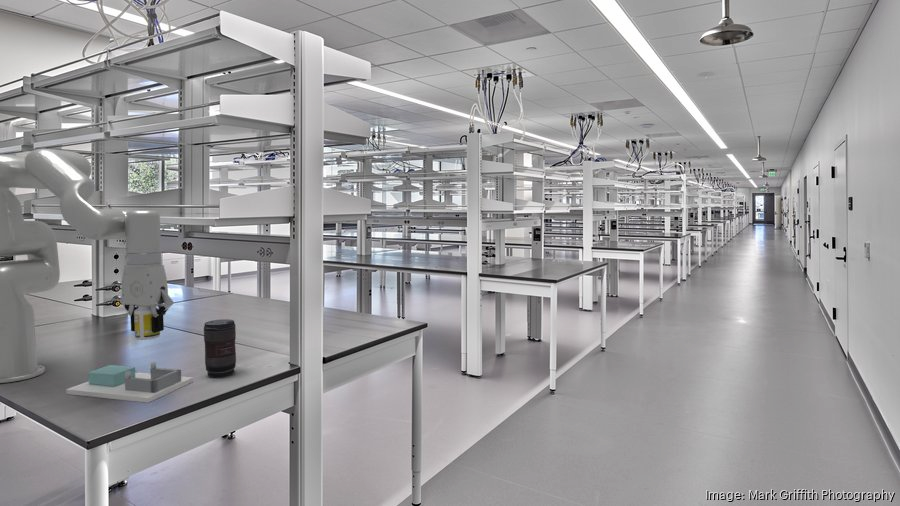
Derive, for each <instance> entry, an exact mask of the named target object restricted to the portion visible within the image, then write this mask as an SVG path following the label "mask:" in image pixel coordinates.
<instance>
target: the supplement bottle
mask: <svg viewBox="0 0 900 506" xmlns="http://www.w3.org/2000/svg"><path fill="white" fill-rule="evenodd" d="M158 309H159V308H158V307H157V310H158ZM152 317H154V316H153V313H152V310H151V307H150V306H138V309H136V310H135V311H134V323H135V331H134V337H135V339H136V340H137V341H148V340H155V339H158V338H159V337H161V331H159V332H156V333H153V332H152V323H151V318H152Z"/></svg>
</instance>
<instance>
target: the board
mask: <svg viewBox="0 0 900 506" xmlns="http://www.w3.org/2000/svg"><path fill="white" fill-rule="evenodd" d="M149 369H150V370H149V371H150V373H146V372H138V371H137V372H136V371H135V378H133V377H131V371H127V372H125V383H122V384H120V385H117V386H106V385H96V384H89V381H85V382H83V383H80V384H77V385H74V386H72V387H68V388H67V389H65V392H66V393H65V394H66V395H72V396H83V397H92V398H101V399H102V398H103V399H109V400H110V399H111V400H121V401H131V402H139V403H147V404H148V403H151V402H153V401H155V400H157V399H159V398H161V397H163V396H166V395H168V394H170V393H172V392H175V391H176V390H179V389H181V388H182V387H185V386H187V385H190V384H192V383H193V382H194V377H192V376H191V377H190V376H182V369H179V368H178V369H176V368H166V367H165V368H163V367H157V362H156V361H152V362H150V368H149Z"/></svg>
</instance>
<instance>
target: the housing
mask: <svg viewBox="0 0 900 506" xmlns="http://www.w3.org/2000/svg"><path fill="white" fill-rule="evenodd" d="M127 371H131V377H133V378H135V372H136V367H135V366H127V365H125V366H124V365H117V364H116V365H115V364H108V365H106V366H102V367H100V368H98V369H94V370H90V371H89V372H87V375H88V377H87V378H88V381H89V384H96V385H106V386H117V385H120V384H122V383H125V372H127ZM88 381H87V382H88Z"/></svg>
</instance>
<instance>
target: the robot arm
mask: <svg viewBox="0 0 900 506" xmlns="http://www.w3.org/2000/svg"><path fill="white" fill-rule="evenodd" d="M91 175H92V166H91V163H90V161H89V160H88V159H87V157H85V155H83V154H81V153H79V152H76V151H70V150H62V149H53V148H37V149H34V150H31V151H29V152H28V153H27V154H26V155H25V156H22V155H15V154H14V155H13V154H3V153H2V154H0V257H13V256H27V259H17V260H9V261H0V384H3V383H4V384H5V383H13V382H19V381H24V380H28V379H31V378H35V377H39V376H40V375H42V374H44V373H45V371H46V368H45V366H43V365H40V364H38V353H37V340H36V339H37V338H36V337H37V335H36V322H35V321H36V320H35V319H36V318H35V310H34V308H33V306H32V304H31V303H30V301H28V299H27V298H26V297H25V295H29V294H36V293H43V292H48V291H52V290H53V289H54V288H55V287H57V285H58V283H59V281H60V276H61V275H60V274H61V273H60V270H61V269H60V262H59V261H60V259H59V251H58V243H57V242H58V241H57V236H56V233H55V231H54V230H53V228H52V227H51V226H50V225H49V224H47V223H46V222H43V221H40V220H25V218H24V214H23V206H22V204H21V202H20V200H19V199H18V196H16V195H15V194H14V193H13V191H12V190H11V188H14V189H15V188H16V189H35V190H36V189H37V190H48V191H50V192H51V193H52V194H53V195H54V196H55V197H57V198H58V199H59V209H60V213H61V215H62V217H63V219H64V221H65V222H66V224H68V225H69V226H70V227H71V228H73V230H75V231H76V232H78V233H79V234H80V235H82V236H83V237H85V238H87V239H89V240H94V241H101V240H104V241H105V240H123V239H125V252H126V254H125V256H124V258H125V260H126V265H124V267H123V271H122V278H121V297H120V298H119V302H120V303H121V305H122V306H124V309H125V310H126V311H127V315H128V316H130V331H131V332H135V323H134V311H135V310H136V309H138V306H150V307H151V310H152V313H153V316H154V317H152V318H151V323H152V332H153V333H156V332H159V331H160V332H161V331H162V332H163V331H164V329H165V325H164V316H165V315H166V313H167V312H168V311H169V308H171V307H172V306H174V300H173V299H172V298H171V296H170V295H169V290H168V289H169V286H168V279H167V272H166V269H165V266H164V264H163V260H162V257H163V256H162V236H161V234H162V232H161V216H160V214H159V212H158V211H156V210H152V209H151V210H149V209H147V210H146V209H144V210H143V209H138V210H137V209H136V210H135V209H127V208H125V209H124V208H120V209H119V208H96V207H93V206H92V205H91V204H89V203H88V202H87V201H88V200H89V199H90V198H91V197H92V196H93V194H94V192H95V189H96V184H95V182H94V181H93V179H92V178H90V177H91ZM157 308H158V310H157Z"/></svg>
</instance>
